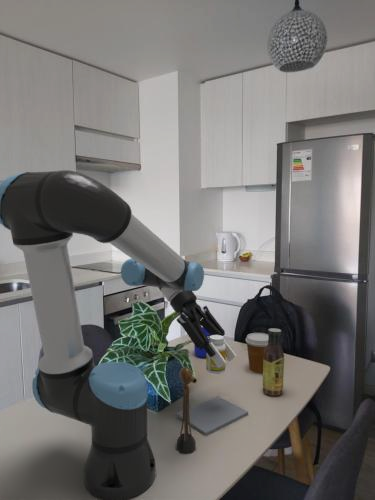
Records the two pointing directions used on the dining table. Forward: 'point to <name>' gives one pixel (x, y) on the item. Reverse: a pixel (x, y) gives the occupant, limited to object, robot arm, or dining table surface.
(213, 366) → the supplement bottle
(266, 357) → the sauce bottle
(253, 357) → the disposable coffee cup
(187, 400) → the wooden tabletop sculpture
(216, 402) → the mat
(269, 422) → the dining table surface
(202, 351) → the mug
